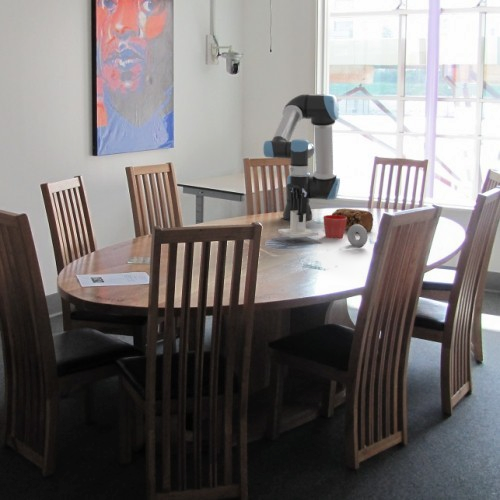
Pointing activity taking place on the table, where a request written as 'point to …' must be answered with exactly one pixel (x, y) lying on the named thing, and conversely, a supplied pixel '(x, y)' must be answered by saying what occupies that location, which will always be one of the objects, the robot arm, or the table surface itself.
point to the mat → (297, 241)
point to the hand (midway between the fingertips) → (297, 228)
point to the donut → (362, 233)
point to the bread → (356, 218)
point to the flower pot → (334, 226)
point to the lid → (293, 231)
